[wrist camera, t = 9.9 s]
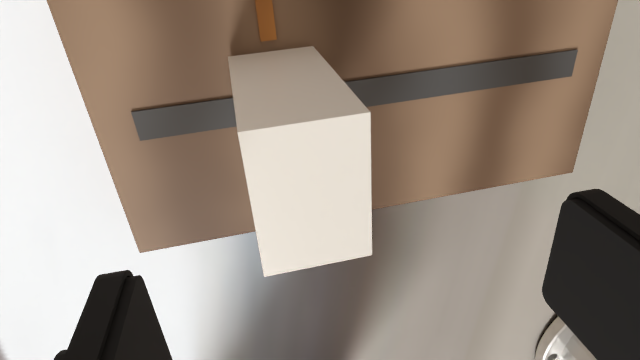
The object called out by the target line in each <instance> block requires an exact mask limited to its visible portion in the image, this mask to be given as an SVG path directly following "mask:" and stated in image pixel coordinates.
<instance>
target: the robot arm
mask: <svg viewBox="0 0 640 360" xmlns="http://www.w3.org/2000/svg"><path fill="white" fill-rule="evenodd" d="M542 292H543V297H544V299H545V301H546V303H547V304H548V305H549V306H550V307H551V309H552V310H553V311H554V312H555V313H556V314H557V315H558V317H557V318H556V319H555V320H554V321H553V322H552V323H551V325H550V326H549V327H548V329H547V330H546V331H545V333H544V335H543V336H542V338H541V340H540V342H539V344H538V347H537V350H536V356H535V360H640V215H639V214H638V213H636V212H635V211H633V210H632V209H630V208H629V207H627V206H626V205H624V204H623V203H621V202H620V201H618V200H616V199H615V198H613V197H612V196H610V195H609V194H607V193H606V192H604V191H602V190H600V189H592V190H586V191H580V192H575V193H572V194H570V195H569V196H568V197H567V200H566V201H564V202H563V203H562V206H561V210H560V214H559V218H558V222H557V227H556V231H555V235H554V240H553V244H552V248H551V253H550V257H549V261H548V265H547V270H546V274H545V278H544V283H543V287H542ZM54 360H172V357H171V355H170V352H169V349H168V346H167V344H166V341H165V338H164V335H163V333H162V330H161V327H160V324H159V322H158V319H157V316H156V313H155V311H154V308H153V305H152V302H151V300H150V297H149V294H148V291H147V288H146V286H145V283H144V280H143V278H142V277H141V276H140V275H138V276H133V274H132V273H131V272H130V271H129V270H125V271H119V272H113V273H108V274H102V275H99V276H97V278H96V279H95V282H94V284H93V287H92V289H91V292H90V294H89V297H88V299H87V302H86V304H85V307H84V309H83V312H82V314H81V317H80V319H79V322H78V324H77V327H76V329H75V332H74V334H73V337H72V339H71V342H70V344H69V347H68V349H67V350H62V351H60V352H59V353H58V354H57V355H56V356H55V358H54Z"/></svg>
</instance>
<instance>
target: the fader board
mask: <svg viewBox="0 0 640 360" xmlns="http://www.w3.org/2000/svg"><path fill="white" fill-rule="evenodd" d="M617 2H618V0H47V3H48V5H49V8H50V11H51V13H52V16H53V19H54V22H55V24H56V27H57V30H58V32H59V35H60V38H61V41H62V43H63V46H64V49H65V51H66V54H67V57H68V60H69V62H70V65H71V68H72V70H73V73H74V76H75V79H76V81H77V84H78V87H79V89H80V92H81V95H82V98H83V100H84V103H85V106H86V108H87V111H88V114H89V117H90V119H91V122H92V125H93V127H94V130H95V133H96V136H97V138H98V141H99V144H100V146H101V149H102V152H103V155H104V157H105V160H106V163H107V165H108V168H109V171H110V173H111V176H112V179H113V182H114V184H115V187H116V190H117V192H118V195H119V198H120V201H121V203H122V206H123V209H124V211H125V214H126V217H127V220H128V222H129V225H130V228H131V230H132V233H133V236H134V239H135V241H136V244H137V247H138V249H139V252H140V253H142V252H147V251H153V250H158V249H163V248H169V247H174V246H180V245H185V244H190V243H196V242H201V241H206V240H212V239H217V238H223V237H228V236H233V235H239V234H244V233H249V232H255V231H256V230H255V225H254V219H253V214H252V208H251V203H250V197H249V192H248V187H247V181H246V176H245V170H244V165H243V159H242V154H241V149H240V143H239V138H238V132H237V124H236V117H235V109H234V101H233V93H232V86H231V78H230V70H229V62H228V57H229V56H237V55H245V54H253V53H261V52H269V51H277V50H285V49H293V48H301V47H309V46H313V47H314V48H315V49H316V50H317V51H318V52H319V53H320V55H321V56H322V57H323V58H324V59H325V60H326V61H327V63H328V64H329V65H330V66H331V67H332V68H333V70H334V71H335V72H336V73H337V74H338V75H339V76H340V78H341V79H342V80H343V81H344V82H345V83H346V85H347V86H348V87H349V88H350V89H351V90H352V91H353V93H354V94H355V95H356V96H357V97H358V98H359V99H360V101H361V102H362V103H363V104H364V105H365V106H366V108H367V109H368V110H369V111H370V112H371V200H372V210H373V209H378V208H384V207H389V206H394V205H400V204H405V203H410V202H416V201H421V200H427V199H432V198H437V197H443V196H448V195H453V194H459V193H464V192H470V191H475V190H480V189H486V188H491V187H496V186H502V185H507V184H513V183H518V182H523V181H529V180H534V179H539V178H545V177H550V176H555V175H561V174H566V173H572V172H573V169H574V165H575V161H576V157H577V154H578V150H579V146H580V142H581V138H582V135H583V131H584V127H585V123H586V120H587V116H588V112H589V108H590V104H591V101H592V97H593V93H594V89H595V85H596V82H597V78H598V74H599V70H600V67H601V63H602V59H603V55H604V51H605V48H606V44H607V40H608V36H609V32H610V29H611V25H612V21H613V17H614V14H615V10H616V6H617Z"/></svg>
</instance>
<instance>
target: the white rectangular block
mask: <svg viewBox="0 0 640 360" xmlns="http://www.w3.org/2000/svg"><path fill="white" fill-rule="evenodd" d="M228 62H229V70H230V78H231V86H232V93H233V101H234V109H235V117H236V124H237V132H238V138H239V143H240V149H241V154H242V159H243V165H244V170H245V176H246V181H247V187H248V192H249V197H250V203H251V208H252V214H253V219H254V225H255V230H256V235H257V241H258V246H259V252H260V257H261V263H262V268H263V273H264V277H267V276H272V275H277V274H281V273H286V272H291V271H296V270H301V269H306V268H311V267H316V266H321V265H326V264H331V263H336V262H341V261H346V260H351V259H356V258H361V257H366V256H370V255H372V200H371V112H370V111H369V110H368V109H367V108H366V106H365V105H364V104H363V103H362V102H361V101H360V99H359V98H358V97H357V96H356V95H355V94H354V93H353V91H352V90H351V89H350V88H349V87H348V86H347V85H346V83H345V82H344V81H343V80H342V79H341V78H340V76H339V75H338V74H337V73H336V72H335V71H334V70H333V68H332V67H331V66H330V65H329V64H328V63H327V61H326V60H325V59H324V58H323V57H322V56H321V55H320V53H319V52H318V51H317V50H316V49H315V48H314V47H313V46H309V47H301V48H293V49H285V50H277V51H269V52H261V53H253V54H245V55H237V56H229V57H228Z"/></svg>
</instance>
